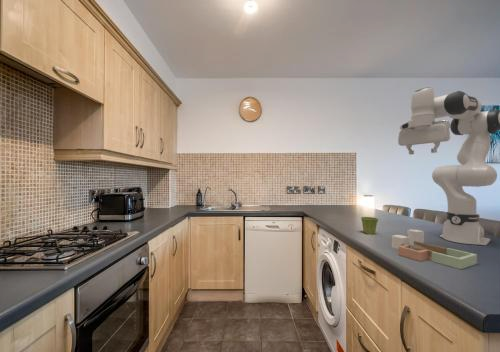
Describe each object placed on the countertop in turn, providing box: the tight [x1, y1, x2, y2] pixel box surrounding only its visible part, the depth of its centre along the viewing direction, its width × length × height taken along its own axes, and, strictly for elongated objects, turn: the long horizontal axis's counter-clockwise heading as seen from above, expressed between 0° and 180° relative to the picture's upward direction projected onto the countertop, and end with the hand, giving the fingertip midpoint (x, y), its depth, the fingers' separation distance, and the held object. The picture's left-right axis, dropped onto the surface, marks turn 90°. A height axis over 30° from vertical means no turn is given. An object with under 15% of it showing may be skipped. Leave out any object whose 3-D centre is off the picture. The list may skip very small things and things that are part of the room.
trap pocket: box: [397, 245, 428, 262], centre depth 97 cm, size 5×8×4 cm, turn 27°
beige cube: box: [406, 228, 425, 247], centre depth 115 cm, size 7×7×7 cm
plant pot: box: [360, 216, 379, 235], centre depth 139 cm, size 9×9×9 cm
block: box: [391, 234, 410, 250], centre depth 109 cm, size 5×5×6 cm
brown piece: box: [401, 241, 447, 261], centre depth 101 cm, size 10×12×4 cm
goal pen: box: [430, 247, 478, 270], centre depth 92 cm, size 12×9×4 cm
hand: (422, 153), depth 110 cm, fingers open, 8 cm apart
